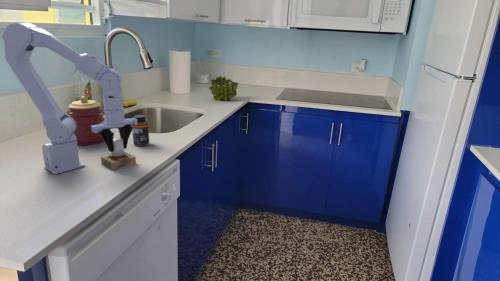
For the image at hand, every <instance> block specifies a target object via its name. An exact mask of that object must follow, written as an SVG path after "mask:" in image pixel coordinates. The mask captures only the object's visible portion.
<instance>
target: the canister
mask: <svg viewBox="0 0 500 281" xmlns="http://www.w3.org/2000/svg"><path fill="white" fill-rule="evenodd" d="M67 107H68V110H67V111H65V112H66V113H67V115H68V116H70V117H71V118H73V119H74V120H75V122H76V125H77V128H76V130H75V132H74V135H75V136H76V139H77V146H78V145H79V146H89V145H97V144H99V143H102V142H105V140H104V139H103V137H102V136H101V134H100V133H99V132H98V133H94V132H92V127H91V126H93V125H97V124H100V123H103V122H105V116H103V113H104V108H102V107H101V103H100V102H97V100H94V99H93V100H92V99H88V97H87V96H85V95H82V96H80V98H79V100H75V101H72V102H71V103H70V104H68V106H67Z"/></svg>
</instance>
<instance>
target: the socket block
mask: <svg viewBox="0 0 500 281" xmlns="http://www.w3.org/2000/svg"><path fill="white" fill-rule="evenodd" d="M136 157H137V156H135V155H132V154H131V153H128V152H126V151H124V155H122V156H112V155H111V154H106V155H103V156H100V163H101V165H103V166H105V167H107V168H109V170H112V171H117V170H119V169H123V168H127V167H130V166H133V165H136V164H137V158H136Z"/></svg>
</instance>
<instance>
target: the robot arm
mask: <svg viewBox="0 0 500 281" xmlns="http://www.w3.org/2000/svg"><path fill="white" fill-rule="evenodd" d="M1 39H2V40H3V42H4V55H5V56H4V57H5V60H6V63H7V65H9V67H10V69H11V70H12V72H13V74H14V75H15V76H16V78H17V79H18V80H19V83H20V84H21V85H22V87H23V88H24V91H25V92H26V94H28V96H29V97H30V99H31V100H32V102H33V104H34V105H35V107H36V108H37V109H38V111H39V112H40V114H41V116H42V125H43V126H44V128H45V130H46V136H47V138H48V139H49V141H48V142H47V143H44V144H42V146H41V147H42V148H41V150H42V155H43V157H42V158H43V162H44V166H43V167H44V169H46V170H48V171H49V172H50V173H52V174H53V175H57V174H61V173H64V172H68V171H72V170H75V169H80V168H83V167H86V164H85V163H83V162H81V161H80V155H79V154H80V153H79V147H78V145H77V139H76V136H75V135H74V132H75V130H76V128H77V125H76V122H75V120H74V119H73V118H71V117H70V116H68V114H67V113H66V112H67V111H65V110H64V109H63V108H61V107H60V106H59V104H58V103H57V101H56V100H55V97H54V96H53V94H52V93H51V91H50V90H49V89H48V87H47V85H46V84H45V82H44V80H43V79H42V78H41V75H40V74H39V72H38V71H37V69H36V67H35V66H34V64H33V62H31V60H30V58H31V56H32V53H33V51H34V50H35V48H36V47H37V48H46V49H49V50H50V51H52V52H54V53H55V54H58V55H59V56H60V57H63V58H64V59H66V60H68V61H70V62H72V63H73V65H74V66H75V68H76V71H78V72H80V73H82V74H83V75H85V76H87V77H89V79H91V80H93V81H95V82H98V84H99V85H100V87H101V88H102V102H103V110H104V111H103V113H104V122H103V123H100V124H97V125H93V126H91V127H92V132H94V133H98V132H99V133H100V134H101V136H102V137H103V139H104V142H105V144H106V147H107V150H108V152H110V153H111V152H114V146H113V138H114V135H115V132H113V131H112V130H115V129H118V132H119V138H122V139H123V144H124V149H127V148H128V142H129V138H130V137H131V136H130V135H131V133H133V132H132V125H137V119H136V118H134V117H130V118H129V117H128V118H125V111H124V98H123V93H122V90H123V88H122V85H121V84H122V81H123V76H122V74H121V73H120V72H119V70H117V69H116V68H112V67H111V65H109V64H107V65H106V64H105V63H103V62H102V61H101V60H99V59H97V56H96V55H94V54H93V53H92V54H89V53H83V54H81V53H79V52H78V51H76V50H75V49H73V48H72V47H71V46H69V45H68V44H66V43H64V42H63V41H62V40H60V39H59V38H58V37H56V36H54V35H53V34H52V33H50V32H49V31H47V30H45V29H43V28H41V27H38V26H37V25H36V24H34V23H32V22H23V23H22V22H21V23H20V22H12V23H11V22H10V23H9V24H7V26H5V29H4V31H3V33H2V35H1Z"/></svg>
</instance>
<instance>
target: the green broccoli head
mask: <svg viewBox="0 0 500 281" xmlns="http://www.w3.org/2000/svg"><path fill="white" fill-rule="evenodd" d="M210 83H211V84H210V85H211V86H210V87H209V90H210V91H211V92H210V93H211V95H213V100H216V101H217V100H218V101H220V100H223V101H228V100H232V98H235V97H236V96H237V95H238V92H237V91H238V90H237V89H238V87H239V82H236V81H233V80H232V79H231V78H229V77H228V79H227V78H226V76H223V77H222V76H220V75H219V76H216V78H215V79H211V82H210Z"/></svg>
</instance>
